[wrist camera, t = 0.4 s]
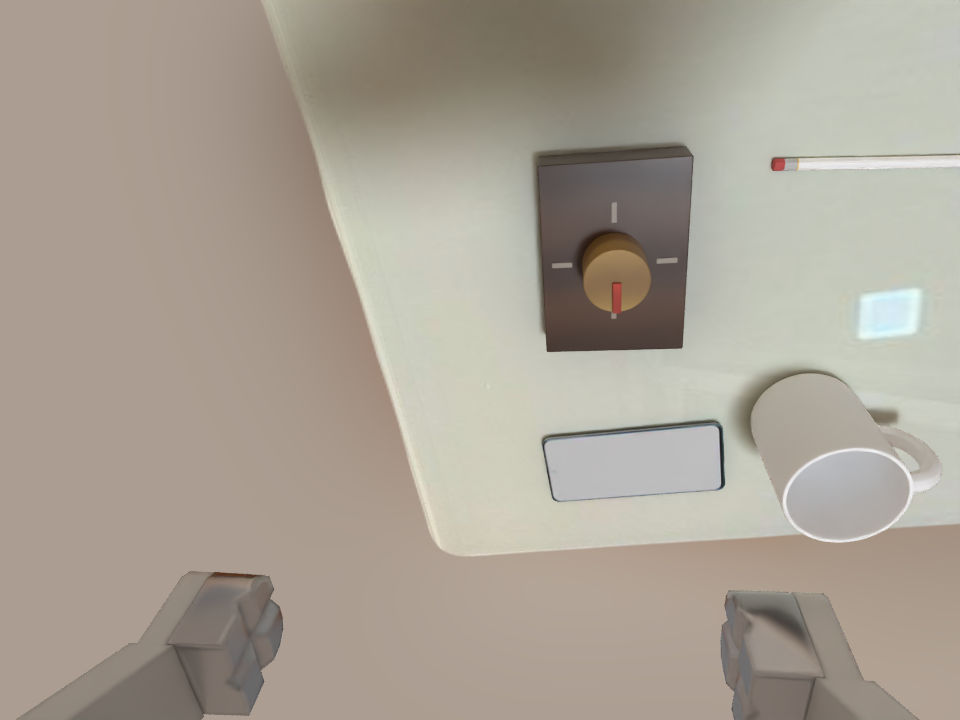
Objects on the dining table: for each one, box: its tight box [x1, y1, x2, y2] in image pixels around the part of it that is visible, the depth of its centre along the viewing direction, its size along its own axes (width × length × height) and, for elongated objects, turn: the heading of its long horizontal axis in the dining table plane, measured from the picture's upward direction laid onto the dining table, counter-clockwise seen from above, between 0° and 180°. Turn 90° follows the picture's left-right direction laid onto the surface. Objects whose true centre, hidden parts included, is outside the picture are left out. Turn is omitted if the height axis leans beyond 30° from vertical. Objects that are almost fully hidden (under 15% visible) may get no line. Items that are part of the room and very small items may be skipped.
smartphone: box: [542, 422, 725, 502], centre depth 58 cm, size 7×1×15 cm
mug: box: [751, 373, 942, 542], centre depth 50 cm, size 12×8×10 cm
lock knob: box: [582, 233, 651, 314], centre depth 45 cm, size 4×4×4 cm
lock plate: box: [537, 146, 693, 352], centre depth 48 cm, size 14×10×3 cm
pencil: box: [772, 155, 960, 171], centre depth 44 cm, size 1×19×1 cm, turn 92°
